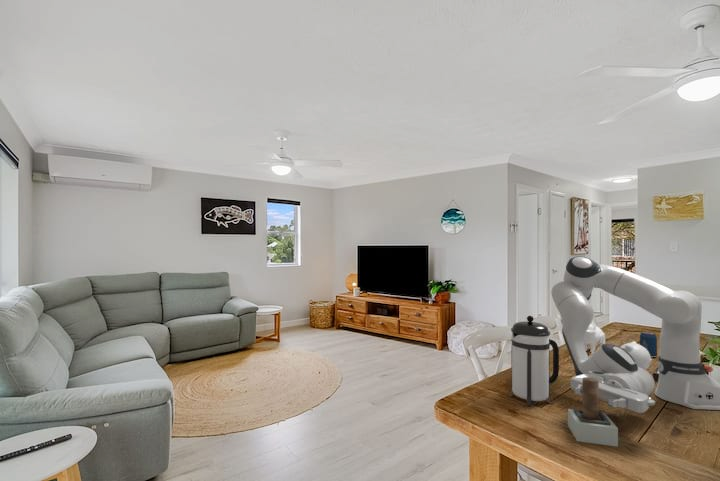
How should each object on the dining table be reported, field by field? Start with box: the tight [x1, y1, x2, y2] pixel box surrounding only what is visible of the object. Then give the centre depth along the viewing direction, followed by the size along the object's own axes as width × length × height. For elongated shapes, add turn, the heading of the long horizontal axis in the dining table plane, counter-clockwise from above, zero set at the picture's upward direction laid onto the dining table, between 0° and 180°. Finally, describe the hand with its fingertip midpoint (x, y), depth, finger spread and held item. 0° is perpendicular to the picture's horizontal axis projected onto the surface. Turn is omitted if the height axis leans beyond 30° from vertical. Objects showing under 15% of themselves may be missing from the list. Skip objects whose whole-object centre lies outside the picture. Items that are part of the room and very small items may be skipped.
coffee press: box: [507, 315, 560, 408], centre depth 135 cm, size 17×16×30 cm
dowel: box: [582, 377, 600, 420], centre depth 109 cm, size 4×4×16 cm
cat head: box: [620, 340, 653, 370], centre depth 168 cm, size 15×13×12 cm
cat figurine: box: [583, 323, 606, 353], centre depth 197 cm, size 25×10×17 cm, turn 135°
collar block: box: [567, 408, 619, 448], centre depth 108 cm, size 10×10×6 cm
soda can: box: [639, 331, 658, 357], centre depth 191 cm, size 7×7×12 cm
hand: (593, 397), depth 109 cm, fingers open, 8 cm apart
